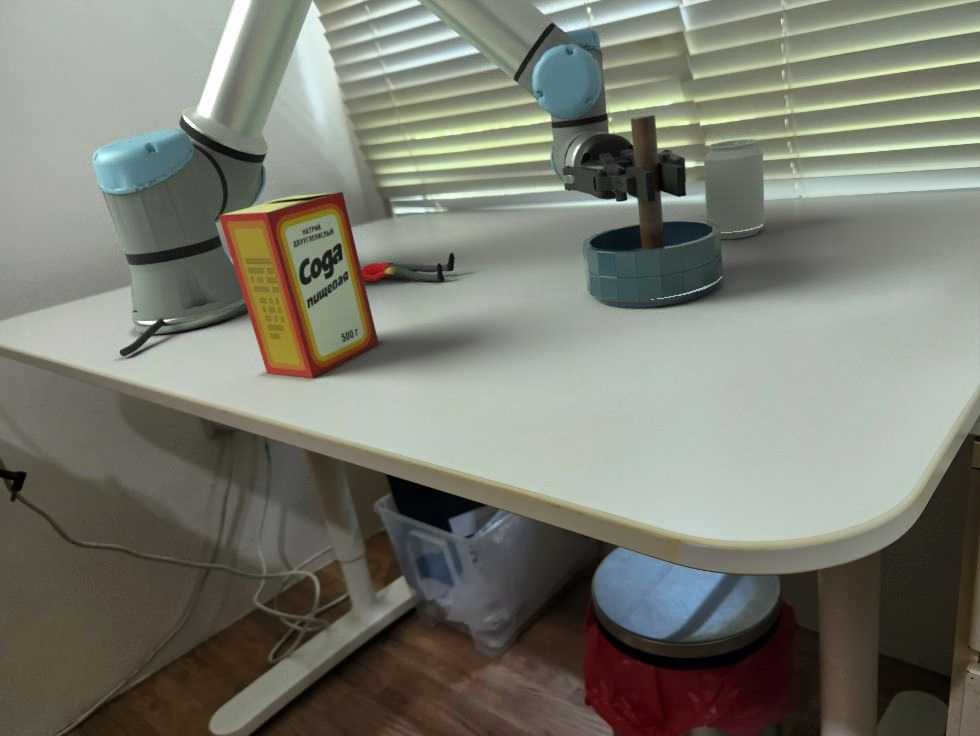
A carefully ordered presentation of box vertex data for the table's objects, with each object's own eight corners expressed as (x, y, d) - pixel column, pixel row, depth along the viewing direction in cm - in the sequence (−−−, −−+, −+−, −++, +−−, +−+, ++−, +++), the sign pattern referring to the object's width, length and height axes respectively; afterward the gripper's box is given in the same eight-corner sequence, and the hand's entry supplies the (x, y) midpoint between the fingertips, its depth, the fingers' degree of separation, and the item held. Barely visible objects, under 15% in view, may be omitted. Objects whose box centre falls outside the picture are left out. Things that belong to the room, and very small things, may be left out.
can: (700, 233, 105) (695, 144, 100) (752, 224, 105) (750, 135, 101) (718, 243, 98) (713, 147, 94) (773, 233, 99) (771, 138, 94)
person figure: (434, 250, 98) (329, 254, 106) (434, 281, 98) (330, 282, 106) (455, 253, 102) (353, 256, 110) (456, 282, 103) (354, 283, 111)
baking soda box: (312, 378, 71) (265, 208, 65) (267, 373, 75) (217, 211, 68) (378, 343, 79) (341, 187, 72) (334, 340, 82) (295, 191, 75)
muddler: (678, 269, 77) (667, 114, 71) (629, 273, 78) (615, 122, 72) (678, 257, 81) (669, 111, 75) (632, 262, 83) (619, 118, 77)
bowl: (725, 303, 75) (722, 243, 72) (581, 314, 78) (574, 258, 75) (720, 266, 88) (717, 214, 85) (596, 277, 91) (591, 228, 88)
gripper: (663, 185, 95) (743, 210, 74) (545, 206, 93) (592, 237, 72) (659, 123, 92) (741, 130, 71) (537, 143, 90) (583, 156, 69)
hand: (665, 184), depth 71 cm, fingers closed on muddler, 2 cm apart
